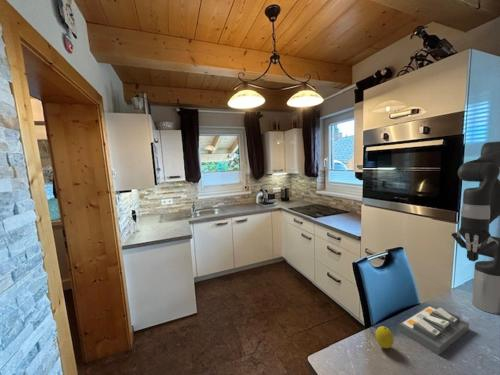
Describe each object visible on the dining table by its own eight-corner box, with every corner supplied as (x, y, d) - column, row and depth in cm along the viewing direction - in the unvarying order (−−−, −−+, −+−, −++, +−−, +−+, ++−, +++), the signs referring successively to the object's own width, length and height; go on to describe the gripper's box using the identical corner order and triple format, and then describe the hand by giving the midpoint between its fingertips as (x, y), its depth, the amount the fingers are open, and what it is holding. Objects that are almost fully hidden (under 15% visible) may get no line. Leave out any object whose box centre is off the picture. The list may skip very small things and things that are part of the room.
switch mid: (430, 318, 89) (430, 315, 89) (449, 324, 83) (448, 321, 84) (426, 321, 87) (425, 318, 87) (444, 327, 82) (444, 324, 82)
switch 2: (438, 309, 92) (439, 307, 92) (456, 321, 87) (457, 319, 87) (434, 311, 90) (435, 309, 90) (452, 324, 85) (453, 322, 85)
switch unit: (429, 311, 98) (430, 300, 97) (468, 330, 86) (469, 318, 86) (398, 330, 87) (399, 319, 87) (438, 355, 75) (439, 341, 75)
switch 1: (421, 320, 86) (422, 318, 85) (439, 333, 81) (440, 331, 80) (416, 324, 84) (417, 321, 84) (434, 337, 79) (435, 335, 79)
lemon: (395, 355, 76) (396, 333, 75) (378, 352, 77) (379, 331, 77) (389, 342, 81) (389, 322, 81) (373, 340, 83) (373, 320, 82)
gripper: (505, 218, 77) (501, 264, 79) (456, 211, 89) (454, 252, 91) (497, 220, 74) (493, 269, 76) (448, 214, 86) (445, 256, 87)
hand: (472, 260), depth 83 cm, fingers closed
